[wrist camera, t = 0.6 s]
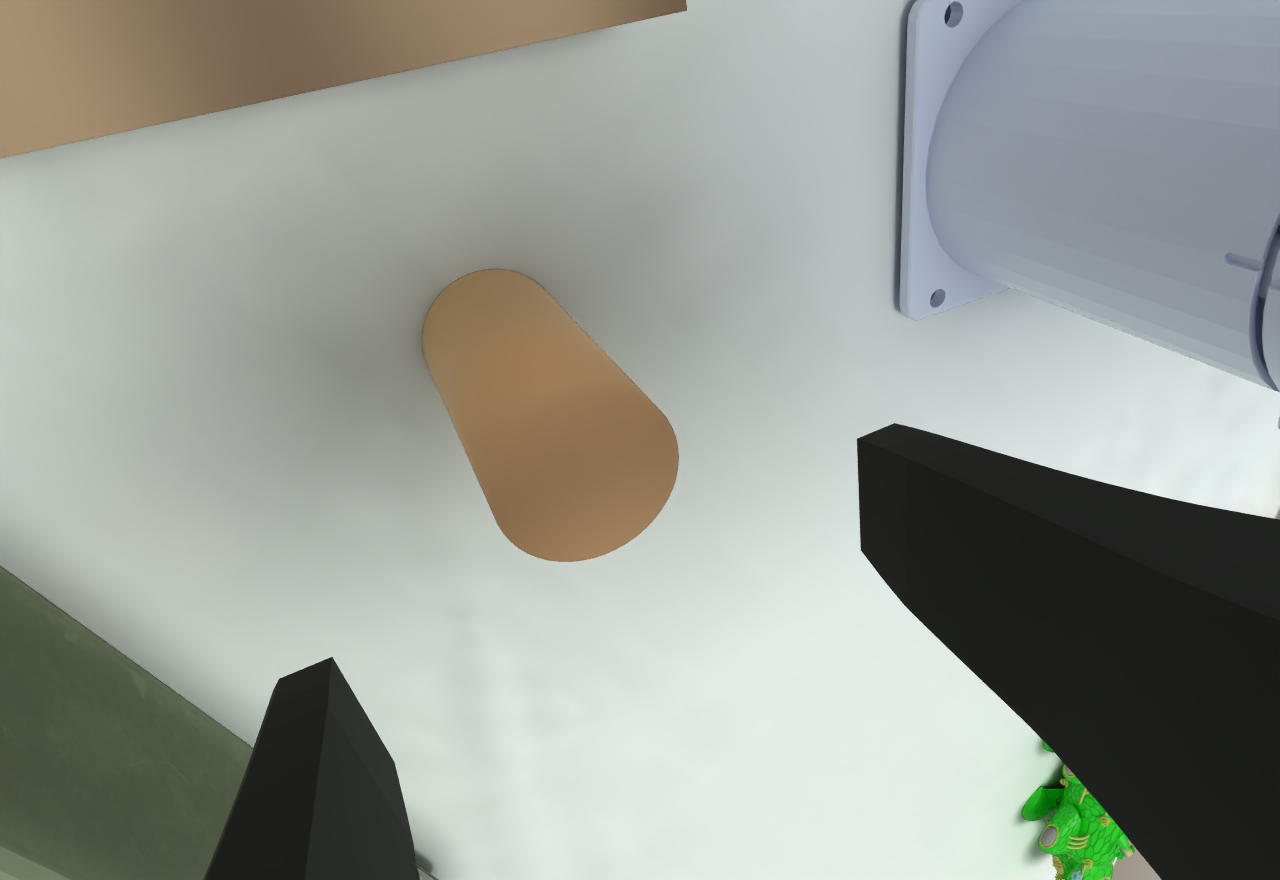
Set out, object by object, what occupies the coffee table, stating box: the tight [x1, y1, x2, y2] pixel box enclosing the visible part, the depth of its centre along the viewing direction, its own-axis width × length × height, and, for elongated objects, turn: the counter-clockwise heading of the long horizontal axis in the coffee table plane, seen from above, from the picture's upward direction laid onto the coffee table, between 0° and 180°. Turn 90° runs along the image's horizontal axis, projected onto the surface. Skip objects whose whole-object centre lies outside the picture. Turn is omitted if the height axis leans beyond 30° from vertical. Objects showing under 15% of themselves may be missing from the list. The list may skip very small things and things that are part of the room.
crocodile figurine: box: [1022, 742, 1134, 880], centre depth 39 cm, size 7×18×4 cm, turn 4°
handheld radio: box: [0, 567, 438, 880], centre depth 16 cm, size 7×3×25 cm
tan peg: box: [422, 269, 679, 562], centre depth 15 cm, size 3×3×6 cm
